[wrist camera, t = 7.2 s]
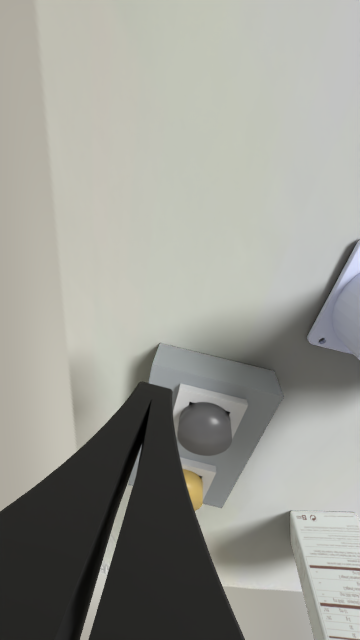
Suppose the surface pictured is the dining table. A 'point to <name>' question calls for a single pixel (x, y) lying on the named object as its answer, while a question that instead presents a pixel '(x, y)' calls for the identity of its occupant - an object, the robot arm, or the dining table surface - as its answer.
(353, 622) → the supplement box
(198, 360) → the mount plate
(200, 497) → the knob
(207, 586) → the robot arm
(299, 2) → the dining table surface
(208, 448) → the knob
